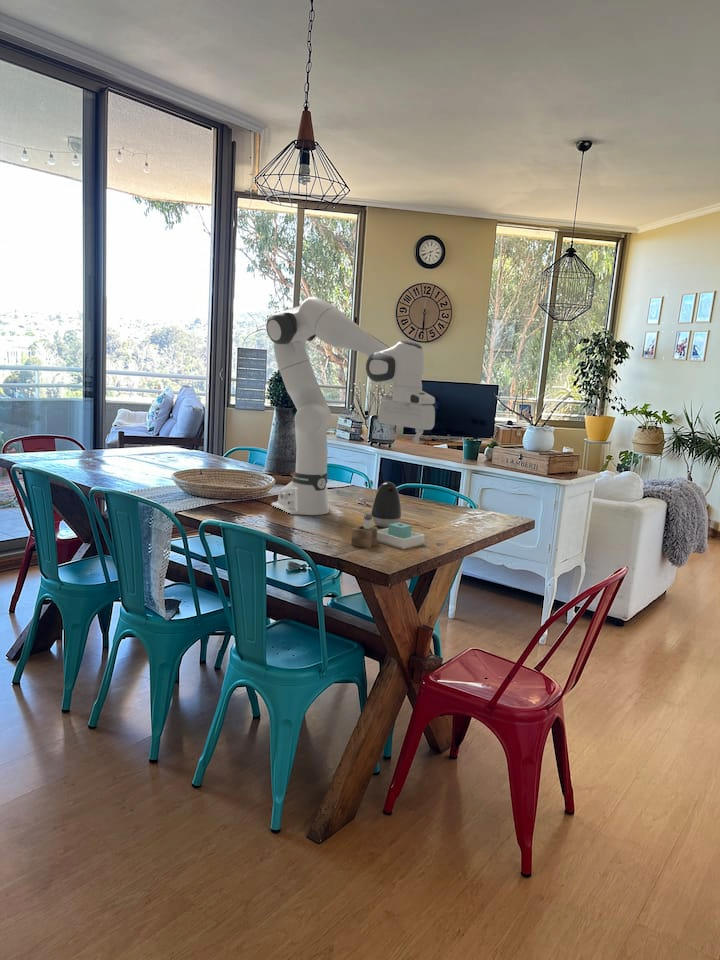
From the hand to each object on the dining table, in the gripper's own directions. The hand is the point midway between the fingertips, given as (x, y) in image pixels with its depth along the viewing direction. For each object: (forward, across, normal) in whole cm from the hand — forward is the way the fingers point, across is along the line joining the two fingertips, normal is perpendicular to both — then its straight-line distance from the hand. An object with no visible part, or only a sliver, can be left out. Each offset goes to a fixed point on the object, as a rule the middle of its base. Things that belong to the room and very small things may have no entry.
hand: (403, 441), depth 213 cm
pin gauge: (+31, -2, -12) cm, 33 cm away
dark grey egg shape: (+31, -14, +10) cm, 36 cm away
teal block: (+30, +3, -2) cm, 31 cm away
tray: (+31, +2, -2) cm, 31 cm away
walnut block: (+31, -2, -13) cm, 34 cm away
